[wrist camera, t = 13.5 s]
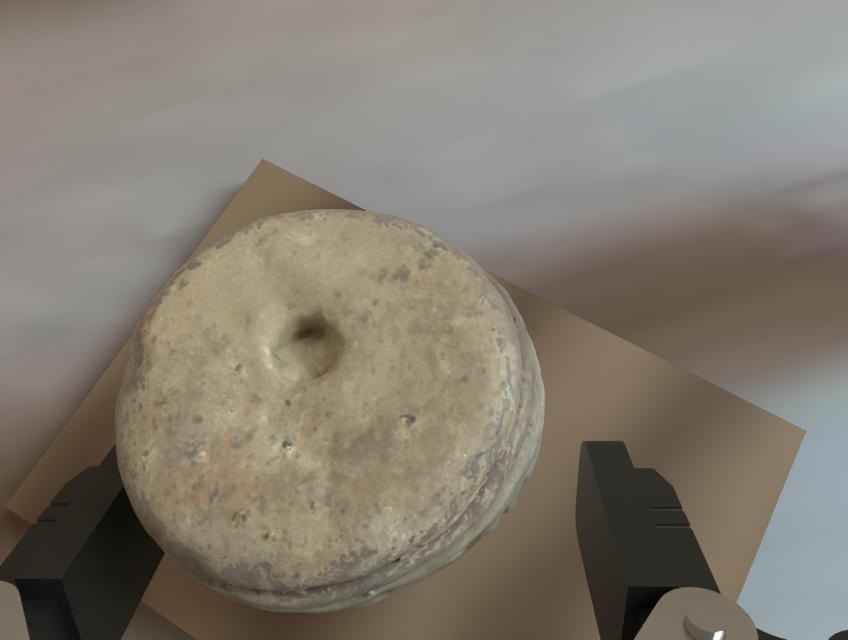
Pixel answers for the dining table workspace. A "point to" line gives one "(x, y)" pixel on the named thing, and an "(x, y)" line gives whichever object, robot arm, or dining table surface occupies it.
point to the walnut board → (539, 501)
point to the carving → (326, 410)
